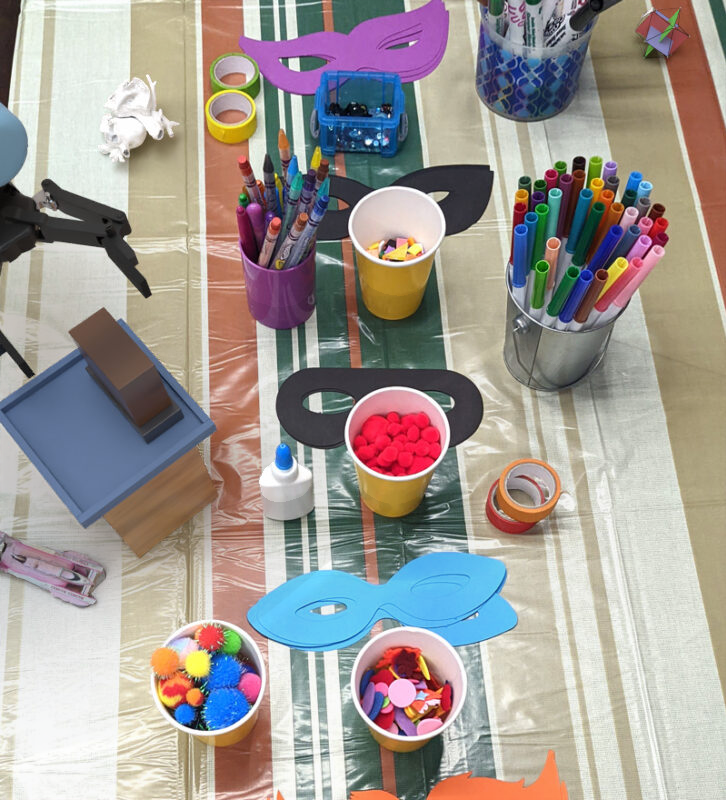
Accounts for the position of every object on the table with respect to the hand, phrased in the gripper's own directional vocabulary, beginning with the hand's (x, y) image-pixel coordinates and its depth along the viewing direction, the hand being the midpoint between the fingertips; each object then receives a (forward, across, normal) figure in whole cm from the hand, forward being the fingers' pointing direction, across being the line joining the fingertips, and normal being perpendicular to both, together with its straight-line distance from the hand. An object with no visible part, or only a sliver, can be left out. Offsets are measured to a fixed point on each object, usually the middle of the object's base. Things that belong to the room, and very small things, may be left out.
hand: (87, 329), depth 84 cm
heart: (-41, -26, -28) cm, 56 cm away
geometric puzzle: (-4, -96, -28) cm, 100 cm away
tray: (+5, +4, -8) cm, 10 cm away
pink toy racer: (+6, +19, -28) cm, 34 cm away
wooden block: (+5, +4, -28) cm, 28 cm away
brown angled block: (+5, 0, -7) cm, 9 cm away
